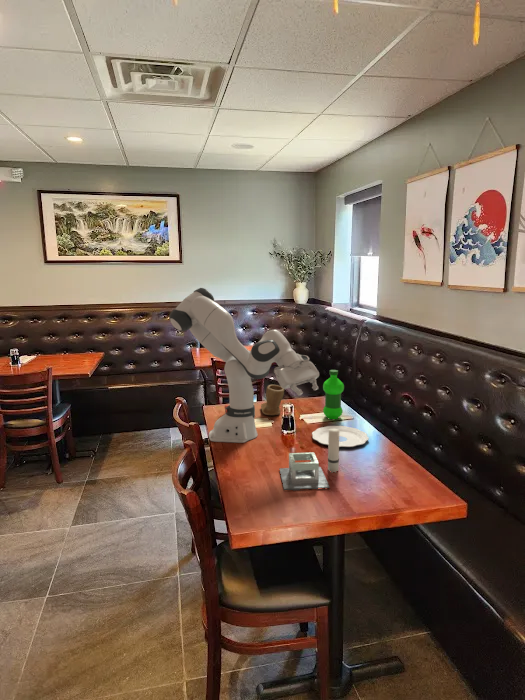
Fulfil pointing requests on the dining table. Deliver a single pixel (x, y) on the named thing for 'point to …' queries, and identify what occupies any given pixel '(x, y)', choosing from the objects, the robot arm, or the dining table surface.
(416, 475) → the dining table surface
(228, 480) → the dining table surface
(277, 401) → the stone cup
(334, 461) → the cream tall rounded cylinder
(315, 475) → the collar holder
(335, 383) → the plastic bottle
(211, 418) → the dining table surface
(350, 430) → the plate
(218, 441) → the robot arm
